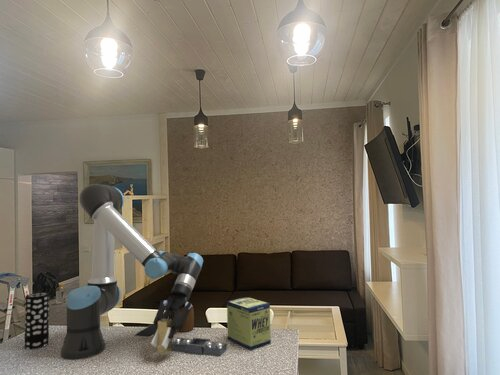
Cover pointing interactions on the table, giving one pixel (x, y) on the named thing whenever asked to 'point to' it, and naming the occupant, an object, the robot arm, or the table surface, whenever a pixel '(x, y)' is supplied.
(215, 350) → the grey link plate
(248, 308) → the protein box
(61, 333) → the table surface
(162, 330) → the gold block
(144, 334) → the smartphone
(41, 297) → the white-spotted black cylinder
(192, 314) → the mug
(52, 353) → the table surface
